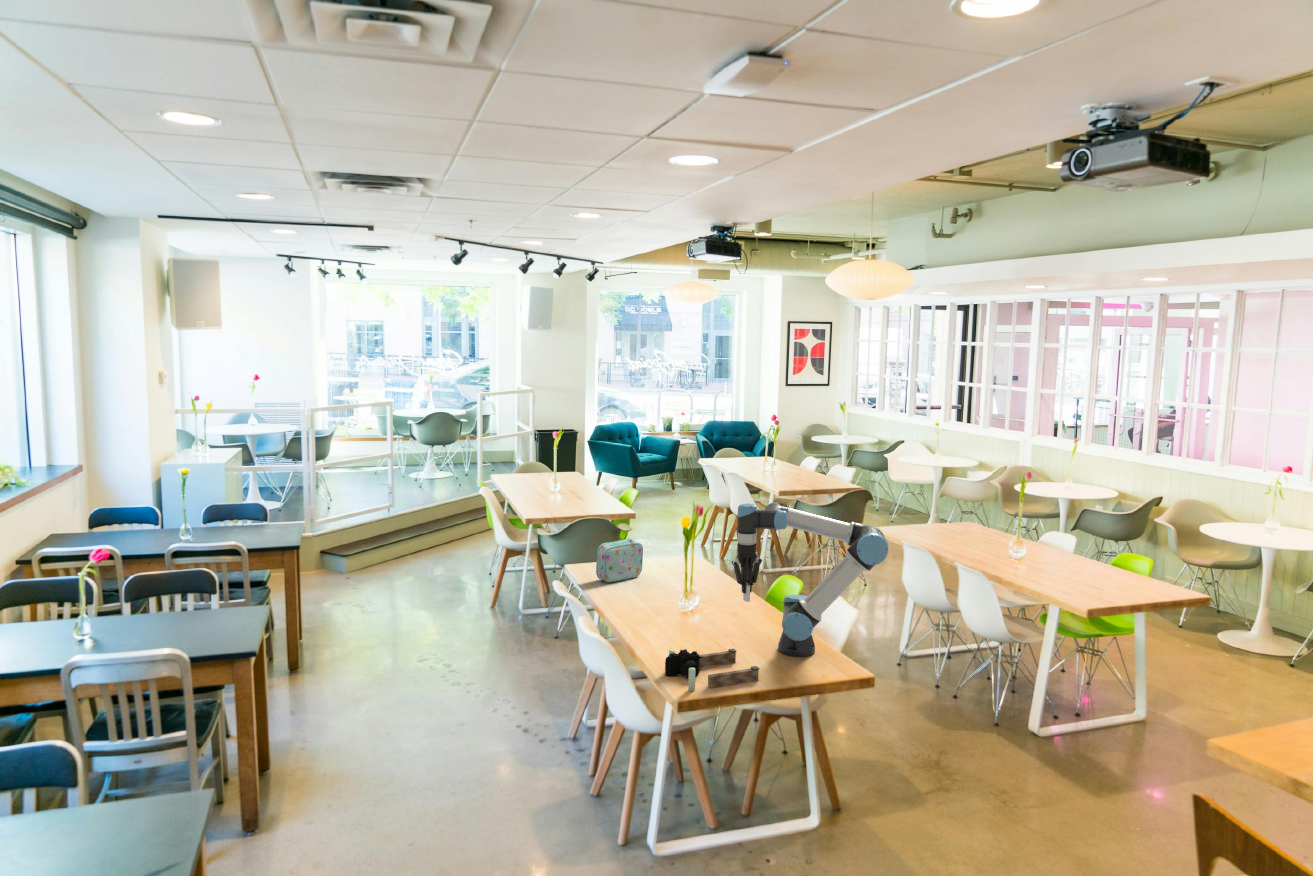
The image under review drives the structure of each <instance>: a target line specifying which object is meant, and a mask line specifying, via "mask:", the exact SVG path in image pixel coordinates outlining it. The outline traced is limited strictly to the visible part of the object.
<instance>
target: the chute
mask: <svg viewBox="0 0 1313 876" xmlns="http://www.w3.org/2000/svg"><path fill="white" fill-rule="evenodd" d="M699 656H700V657H703V658H700V659H699V669H701V668H708V667H714V666H715V667H716V666H723V665H729V664H736V658H737V650H736V649H735V648H730V649H728V650H726V651H718V652H711V653H702V654H699ZM759 672H760V667H759V666H757V665H753V666H750V668H746V669H738V670H732V671H723V672H717V673H711V674H708V675H707V687H708V688H710V689H714V688H715V689H716V688H721V687H727V686H734V685H740V684H747V683H755V682H758V681H759Z"/></svg>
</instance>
